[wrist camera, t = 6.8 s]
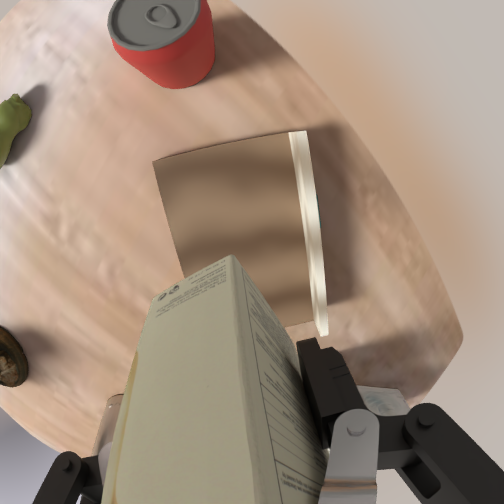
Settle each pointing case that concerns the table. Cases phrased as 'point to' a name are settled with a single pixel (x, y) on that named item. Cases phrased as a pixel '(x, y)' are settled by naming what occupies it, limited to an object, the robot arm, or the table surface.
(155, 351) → the skincare box
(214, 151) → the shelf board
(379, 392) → the skincare box
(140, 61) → the beer can
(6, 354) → the brown lumpy upright piece
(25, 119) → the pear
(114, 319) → the table surface
